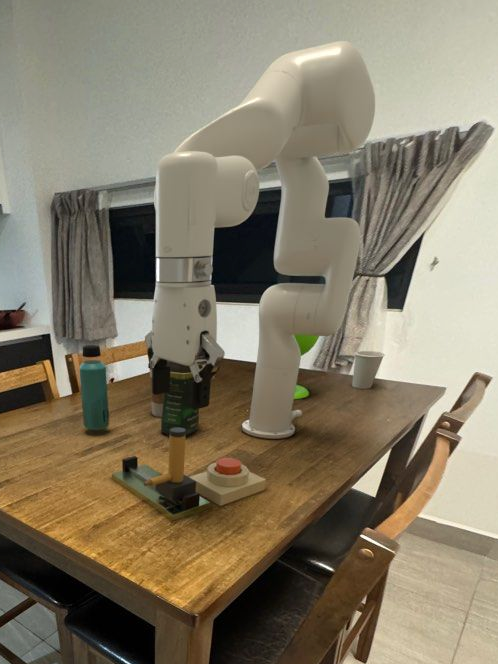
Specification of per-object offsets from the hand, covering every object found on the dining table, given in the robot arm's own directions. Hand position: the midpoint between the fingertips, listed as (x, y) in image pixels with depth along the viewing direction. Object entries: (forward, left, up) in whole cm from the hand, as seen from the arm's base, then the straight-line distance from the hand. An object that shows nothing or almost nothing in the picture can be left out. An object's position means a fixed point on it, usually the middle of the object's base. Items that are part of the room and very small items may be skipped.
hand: (179, 399), depth 70 cm
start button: (-11, +1, -14) cm, 18 cm away
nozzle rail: (0, -5, -18) cm, 19 cm away
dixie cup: (-98, -29, -18) cm, 103 cm away
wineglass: (-72, -39, -18) cm, 84 cm away
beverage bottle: (-7, -41, -18) cm, 45 cm away
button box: (-11, +1, -18) cm, 21 cm away
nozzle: (+2, 0, -17) cm, 17 cm away
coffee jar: (-24, -29, -18) cm, 42 cm away
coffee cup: (-29, -43, -18) cm, 55 cm away
